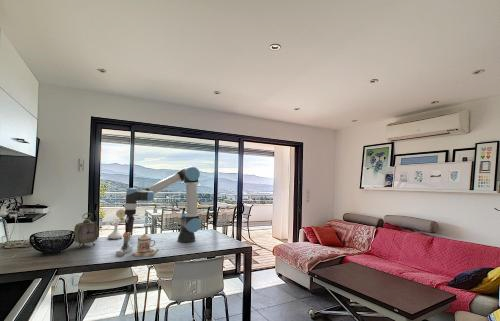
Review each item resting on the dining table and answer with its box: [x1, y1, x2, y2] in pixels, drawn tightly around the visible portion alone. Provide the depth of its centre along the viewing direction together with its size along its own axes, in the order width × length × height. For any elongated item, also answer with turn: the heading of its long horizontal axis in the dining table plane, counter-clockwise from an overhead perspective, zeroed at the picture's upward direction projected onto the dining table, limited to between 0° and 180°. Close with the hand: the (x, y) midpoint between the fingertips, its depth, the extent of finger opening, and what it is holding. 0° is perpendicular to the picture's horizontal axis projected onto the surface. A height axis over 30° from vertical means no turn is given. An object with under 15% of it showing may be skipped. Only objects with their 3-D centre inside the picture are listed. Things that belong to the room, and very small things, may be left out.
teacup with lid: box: [136, 233, 156, 252], centre depth 188 cm, size 12×9×12 cm
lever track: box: [115, 244, 133, 257], centre depth 187 cm, size 5×16×3 cm, turn 5°
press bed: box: [131, 247, 159, 257], centre depth 188 cm, size 14×14×2 cm
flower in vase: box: [107, 208, 127, 240], centre depth 226 cm, size 13×11×25 cm
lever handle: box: [121, 232, 130, 248], centre depth 189 cm, size 4×4×11 cm
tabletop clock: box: [73, 212, 100, 249], centre depth 198 cm, size 14×9×25 cm, turn 147°
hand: (128, 241), depth 194 cm, fingers closed
